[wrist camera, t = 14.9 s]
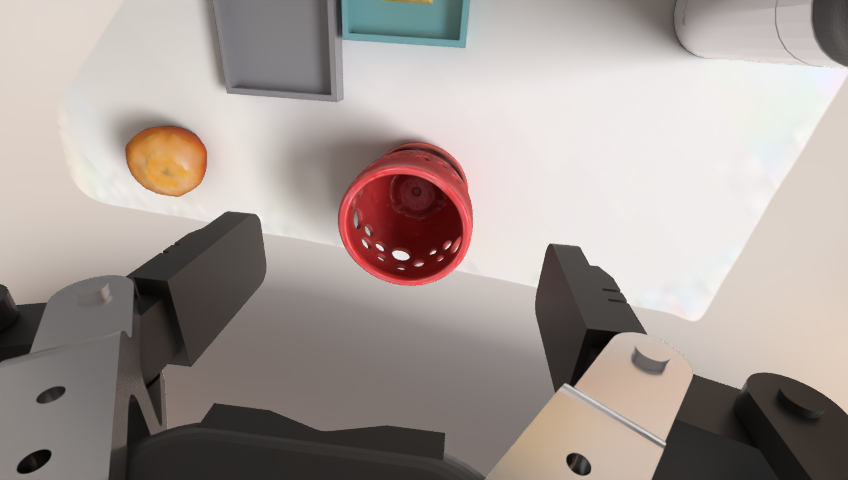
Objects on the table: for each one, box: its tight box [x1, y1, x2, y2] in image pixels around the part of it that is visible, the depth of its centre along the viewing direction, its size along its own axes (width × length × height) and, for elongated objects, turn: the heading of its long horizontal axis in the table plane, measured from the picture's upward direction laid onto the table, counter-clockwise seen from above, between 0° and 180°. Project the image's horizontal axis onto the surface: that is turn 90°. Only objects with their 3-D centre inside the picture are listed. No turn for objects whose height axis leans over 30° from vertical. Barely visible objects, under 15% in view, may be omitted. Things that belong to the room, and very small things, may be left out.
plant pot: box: [338, 142, 473, 286], centre depth 43 cm, size 13×13×12 cm
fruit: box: [126, 126, 207, 197], centre depth 47 cm, size 8×8×8 cm
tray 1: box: [212, 0, 343, 102], centre depth 41 cm, size 12×12×2 cm
